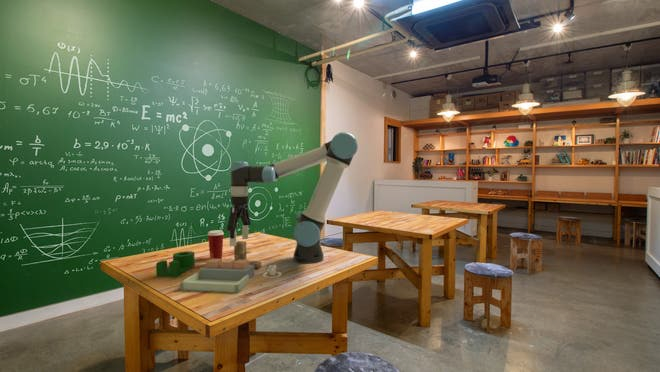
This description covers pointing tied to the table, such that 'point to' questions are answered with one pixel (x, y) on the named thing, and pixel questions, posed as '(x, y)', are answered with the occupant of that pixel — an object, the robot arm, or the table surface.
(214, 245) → the paper cup
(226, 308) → the table surface
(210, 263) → the tile
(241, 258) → the scraper
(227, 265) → the tile
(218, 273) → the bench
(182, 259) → the green bracket
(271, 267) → the teacup and saucer
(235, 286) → the tray
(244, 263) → the tile
